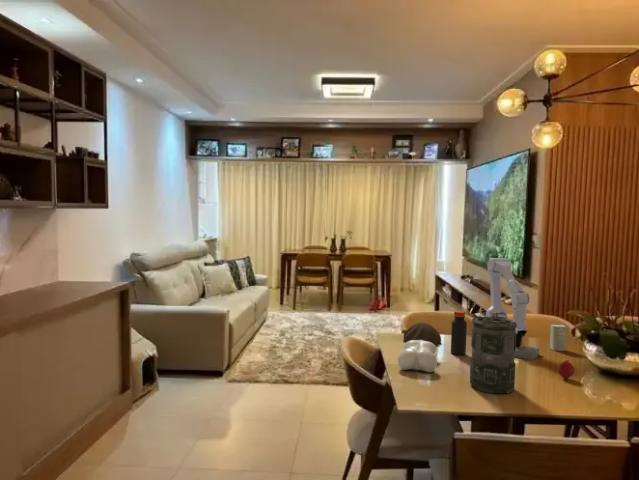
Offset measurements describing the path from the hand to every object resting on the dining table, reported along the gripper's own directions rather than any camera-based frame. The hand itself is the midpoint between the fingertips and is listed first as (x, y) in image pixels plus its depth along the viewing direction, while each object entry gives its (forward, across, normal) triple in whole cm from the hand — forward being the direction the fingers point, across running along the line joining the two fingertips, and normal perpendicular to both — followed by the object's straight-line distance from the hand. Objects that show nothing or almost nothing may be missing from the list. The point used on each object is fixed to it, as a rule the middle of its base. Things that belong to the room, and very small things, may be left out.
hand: (518, 346), depth 229 cm
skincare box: (+4, +22, -13) cm, 26 cm away
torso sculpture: (+4, -46, +29) cm, 55 cm away
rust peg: (+3, 0, 0) cm, 3 cm away
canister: (+4, -56, -5) cm, 56 cm away
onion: (+4, -26, -25) cm, 36 cm away
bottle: (+4, -19, +22) cm, 29 cm away
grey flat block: (+4, 0, 0) cm, 4 cm away
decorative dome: (+4, -8, +45) cm, 46 cm away
